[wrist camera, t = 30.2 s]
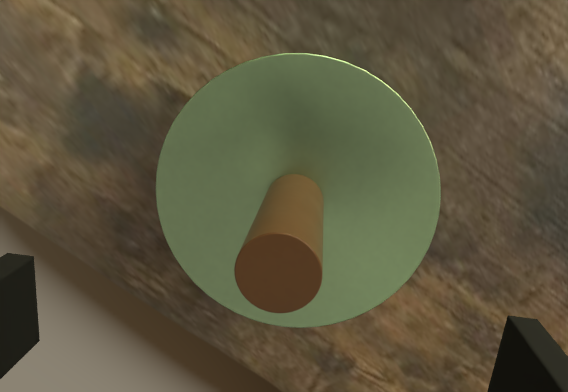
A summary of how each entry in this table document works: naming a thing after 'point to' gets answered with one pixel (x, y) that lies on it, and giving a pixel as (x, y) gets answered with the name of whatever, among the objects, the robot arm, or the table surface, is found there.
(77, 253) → the table surface
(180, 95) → the table surface
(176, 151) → the canister lid
